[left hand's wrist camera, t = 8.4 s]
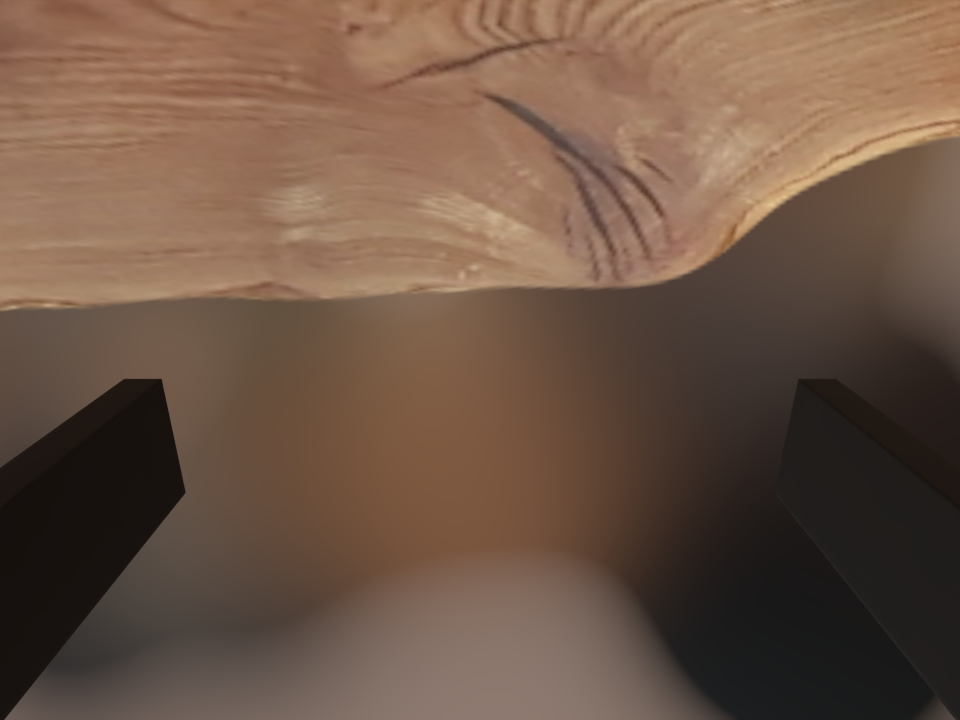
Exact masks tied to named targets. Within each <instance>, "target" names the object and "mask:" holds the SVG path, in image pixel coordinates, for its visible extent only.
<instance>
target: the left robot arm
mask: <svg viewBox="0 0 960 720" xmlns="http://www.w3.org/2000/svg"><path fill="white" fill-rule="evenodd" d="M184 494H185V488H184V483H183V478H182V473H181V469H180V464H179V459H178V455H177V450H176V445H175V440H174V436H173V431H172V426H171V421H170V417H169V412H168V407H167V403H166V398H165V393H164V388H163V384H162V379H124V380H122V381H121V382H119V383H118V384H117V385H115V386H114V387H112V388H111V389H110V390H108V391H107V392H105V393H104V394H103V395H101V396H100V397H98V398H97V399H96V400H94V401H93V402H92V403H90V404H89V405H87V406H86V407H85V408H83V409H82V410H80V411H79V412H78V413H76V414H75V415H73V416H72V417H71V418H69V419H68V420H66V421H65V422H64V423H62V424H61V425H59V426H58V427H57V428H55V429H54V430H52V431H51V432H50V433H48V434H47V435H46V436H44V437H43V438H41V439H40V440H39V441H37V442H36V443H34V444H33V445H32V446H30V447H29V448H27V449H26V450H25V451H23V452H22V453H20V454H19V455H18V456H16V457H15V458H13V459H12V460H11V461H9V462H8V463H7V464H5V465H4V466H2V467H1V468H0V720H4V719H5V718H6V717H7V716H8V714H9V713H10V712H11V711H12V709H13V708H14V707H15V706H16V704H17V703H18V702H19V701H20V699H21V698H22V697H23V696H24V694H25V693H26V692H27V691H28V689H29V688H30V687H31V686H32V684H33V683H34V682H35V680H36V679H37V678H38V677H39V676H40V674H41V673H42V672H43V671H44V669H45V668H46V667H47V666H48V664H49V663H50V662H51V661H52V659H53V658H54V657H55V656H56V654H57V653H58V652H59V650H60V649H61V648H62V647H63V645H64V644H65V643H66V642H67V640H68V639H69V638H70V637H71V635H72V634H73V633H74V632H75V630H76V629H77V628H78V627H79V625H80V624H81V623H82V622H83V620H84V619H85V618H86V617H87V615H88V614H89V613H90V612H91V610H92V609H93V608H94V607H95V605H96V604H97V603H98V602H99V600H100V599H101V598H102V597H103V595H104V594H105V593H106V592H107V590H108V589H109V588H110V587H111V585H112V584H113V583H114V582H115V580H116V579H117V578H118V577H119V575H120V574H121V573H122V572H123V570H124V569H125V568H126V567H127V565H128V564H129V563H130V562H131V560H132V559H133V558H134V557H135V555H136V554H137V553H138V552H139V550H140V549H141V548H142V547H143V545H144V544H145V543H146V542H147V540H148V539H149V538H150V536H151V535H152V534H153V533H154V532H155V530H156V529H157V528H158V527H159V525H160V524H161V523H162V521H163V520H164V519H165V518H166V516H167V515H168V514H169V513H170V511H171V510H172V509H173V508H174V506H175V505H176V504H177V503H178V501H179V500H180V499H181V498H182V496H183V495H184ZM775 494H776V495H777V496H778V498H779V499H780V500H781V501H782V503H783V504H784V505H785V506H786V508H787V509H788V510H789V511H790V513H791V514H792V515H793V516H794V518H795V519H796V520H797V522H798V523H799V524H800V525H801V526H802V528H803V529H804V530H805V532H806V533H807V534H808V535H809V537H810V538H811V539H812V540H813V541H814V543H815V544H816V545H817V547H818V548H819V549H820V550H821V552H822V553H823V554H824V555H825V557H826V558H827V559H828V560H829V562H830V563H831V564H832V565H833V567H834V568H835V569H836V570H837V572H838V573H839V574H840V575H841V577H842V578H843V579H844V580H845V582H846V583H847V584H848V585H849V587H850V588H851V589H852V590H853V592H854V593H855V594H856V595H857V597H858V598H859V599H860V600H861V602H862V603H863V604H864V605H865V607H866V608H867V609H868V610H869V612H870V613H871V614H872V615H873V617H874V618H875V619H876V620H877V622H878V623H879V624H880V625H881V627H882V628H883V629H884V630H885V632H886V633H887V634H888V635H889V637H890V638H891V639H892V640H893V642H894V643H895V644H896V646H897V647H898V648H899V649H900V650H901V652H902V653H903V654H904V656H905V657H906V658H907V659H908V661H909V662H910V663H911V664H912V666H913V667H914V668H915V669H916V671H917V672H918V673H919V674H920V676H921V677H922V678H923V679H924V681H925V682H926V683H927V684H928V686H929V687H930V688H931V689H932V691H933V692H934V693H935V694H936V695H937V697H938V698H939V699H940V701H941V702H942V703H943V704H944V706H945V707H946V708H947V709H948V711H949V712H950V713H951V714H952V716H953V717H954V718H955V719H956V720H960V468H959V467H958V466H956V465H955V464H954V463H952V462H951V461H949V460H948V459H947V458H945V457H944V456H942V455H941V454H940V453H938V452H937V451H935V450H934V449H933V448H931V447H930V446H928V445H927V444H926V443H924V442H923V441H921V440H920V439H919V438H917V437H916V436H914V435H913V434H912V433H910V432H909V431H908V430H906V429H905V428H903V427H902V426H901V425H899V424H898V423H896V422H895V421H893V420H892V419H891V418H889V417H888V416H886V415H885V414H884V413H882V412H881V411H880V410H878V409H877V408H875V407H874V406H873V405H871V404H870V403H868V402H867V401H866V400H864V399H863V398H862V397H860V396H859V395H857V394H856V393H855V392H853V391H852V390H850V389H849V388H848V387H846V386H845V385H843V384H842V383H841V382H839V381H838V380H836V379H798V384H797V388H796V393H795V398H794V402H793V407H792V412H791V417H790V421H789V426H788V431H787V436H786V440H785V445H784V450H783V454H782V459H781V464H780V469H779V473H778V478H777V483H776V488H775Z"/></svg>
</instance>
